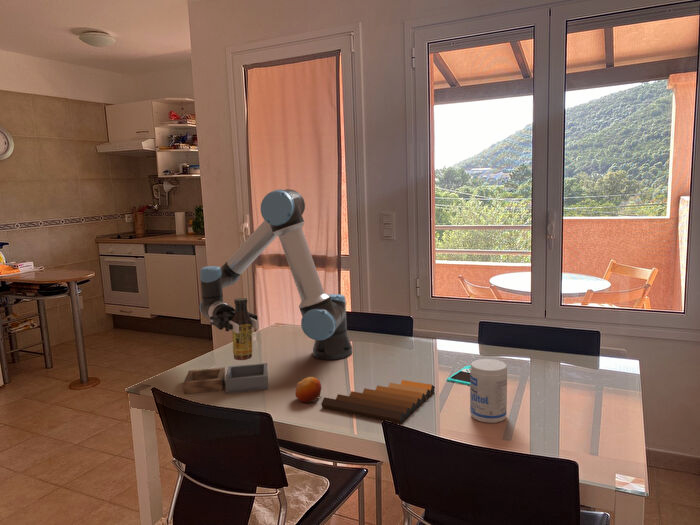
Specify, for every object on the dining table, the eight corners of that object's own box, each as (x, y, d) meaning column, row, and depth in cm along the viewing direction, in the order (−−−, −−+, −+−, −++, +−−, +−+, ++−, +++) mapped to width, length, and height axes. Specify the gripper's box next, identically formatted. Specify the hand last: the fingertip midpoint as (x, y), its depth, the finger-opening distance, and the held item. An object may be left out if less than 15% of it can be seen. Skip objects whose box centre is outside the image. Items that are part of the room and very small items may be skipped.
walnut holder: (225, 377, 183) (224, 367, 183) (222, 389, 172) (221, 379, 171) (189, 380, 182) (188, 370, 181) (184, 393, 170) (183, 383, 169)
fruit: (324, 401, 155) (309, 378, 155) (302, 413, 157) (288, 390, 157) (330, 390, 163) (316, 368, 163) (310, 402, 165) (296, 380, 165)
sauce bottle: (236, 362, 170) (231, 302, 167) (231, 357, 176) (226, 298, 173) (256, 358, 173) (251, 299, 170) (250, 353, 179) (246, 295, 175)
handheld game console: (496, 372, 177) (496, 368, 176) (475, 388, 164) (475, 384, 164) (468, 367, 183) (468, 363, 183) (446, 382, 170) (446, 378, 170)
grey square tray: (267, 375, 183) (266, 362, 182) (267, 389, 170) (266, 376, 169) (229, 379, 181) (228, 366, 180) (226, 393, 168) (225, 380, 168)
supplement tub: (464, 418, 143) (463, 365, 141) (480, 406, 150) (479, 356, 148) (498, 427, 137) (497, 372, 135) (513, 414, 144) (513, 362, 142)
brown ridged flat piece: (321, 410, 154) (400, 427, 141) (320, 399, 153) (399, 414, 140) (363, 381, 175) (434, 393, 162) (362, 371, 174) (434, 382, 162)
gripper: (248, 319, 193) (275, 333, 174) (196, 328, 183) (219, 344, 164) (247, 299, 192) (274, 310, 173) (195, 307, 182) (218, 320, 163)
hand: (247, 327), depth 168 cm, fingers closed on sauce bottle, 6 cm apart
